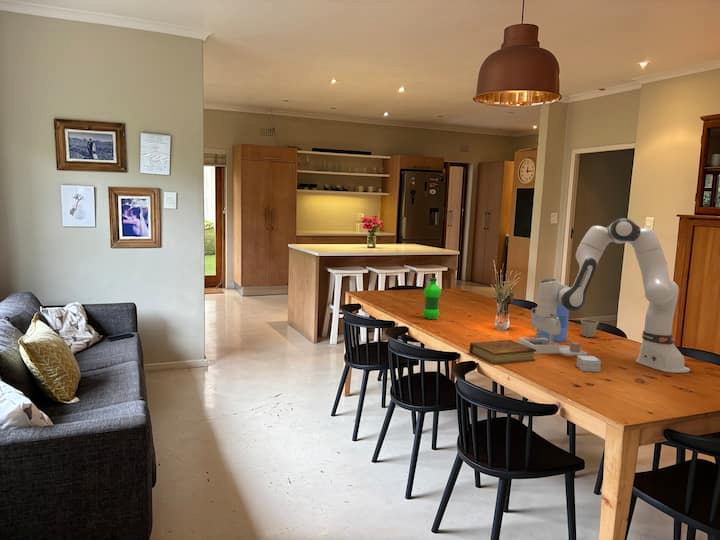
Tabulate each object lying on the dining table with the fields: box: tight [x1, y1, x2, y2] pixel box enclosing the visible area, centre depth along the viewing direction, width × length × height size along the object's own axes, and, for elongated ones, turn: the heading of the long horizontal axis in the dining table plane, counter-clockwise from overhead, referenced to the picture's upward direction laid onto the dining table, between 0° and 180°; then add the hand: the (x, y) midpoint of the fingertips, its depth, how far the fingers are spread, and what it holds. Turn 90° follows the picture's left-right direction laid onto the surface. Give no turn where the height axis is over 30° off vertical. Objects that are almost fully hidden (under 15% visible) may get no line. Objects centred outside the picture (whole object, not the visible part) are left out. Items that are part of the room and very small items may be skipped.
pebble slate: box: [538, 340, 548, 345], centre depth 257 cm, size 4×3×4 cm
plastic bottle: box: [422, 277, 442, 320], centre depth 319 cm, size 10×10×25 cm
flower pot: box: [580, 318, 600, 338], centre depth 291 cm, size 9×9×9 cm
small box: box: [576, 355, 602, 373], centre depth 229 cm, size 8×8×5 cm
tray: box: [558, 345, 590, 357], centre depth 255 cm, size 14×13×1 cm
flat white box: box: [517, 337, 561, 355], centre depth 256 cm, size 14×14×4 cm
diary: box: [468, 339, 536, 365], centre depth 242 cm, size 23×19×6 cm
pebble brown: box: [569, 341, 581, 352], centre depth 256 cm, size 4×3×4 cm
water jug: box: [535, 305, 570, 343], centre depth 279 cm, size 16×16×28 cm
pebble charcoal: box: [530, 340, 540, 345], centre depth 256 cm, size 4×3×4 cm
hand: (544, 339), depth 256 cm, fingers open, 8 cm apart
